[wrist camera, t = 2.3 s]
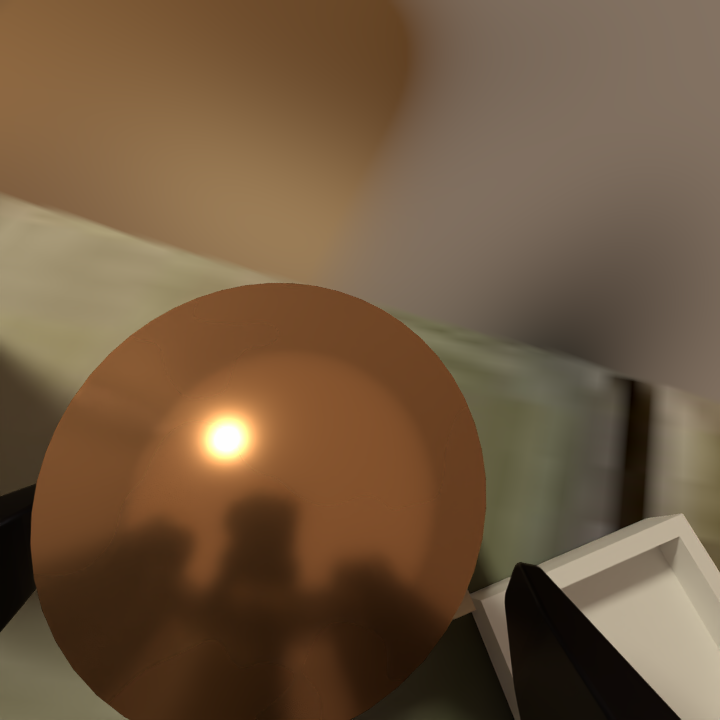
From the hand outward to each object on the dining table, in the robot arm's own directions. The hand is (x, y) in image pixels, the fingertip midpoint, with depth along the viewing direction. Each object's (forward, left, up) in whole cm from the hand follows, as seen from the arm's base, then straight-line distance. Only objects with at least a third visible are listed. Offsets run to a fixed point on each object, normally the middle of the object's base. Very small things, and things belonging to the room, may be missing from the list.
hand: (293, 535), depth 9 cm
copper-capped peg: (0, 0, -8) cm, 9 cm away
